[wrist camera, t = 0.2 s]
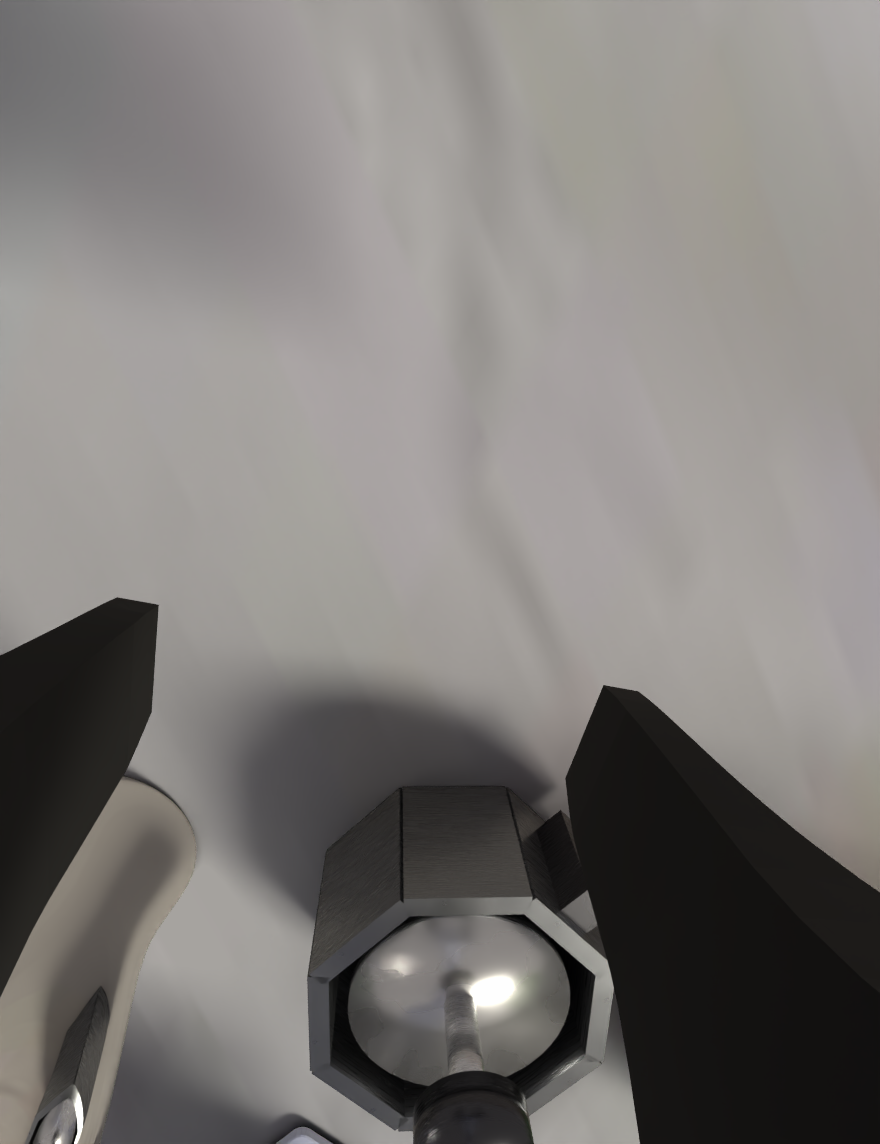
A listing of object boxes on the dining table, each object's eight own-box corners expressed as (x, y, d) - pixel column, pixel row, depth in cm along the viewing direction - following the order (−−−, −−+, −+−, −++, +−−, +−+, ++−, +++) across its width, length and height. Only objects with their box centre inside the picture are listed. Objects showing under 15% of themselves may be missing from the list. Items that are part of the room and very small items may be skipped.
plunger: (452, 1106, 22) (466, 1292, 18) (302, 998, 21) (275, 1172, 16) (611, 990, 21) (667, 1156, 17) (465, 865, 20) (486, 1014, 15)
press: (443, 1022, 27) (452, 1170, 22) (275, 894, 25) (244, 1027, 20) (640, 871, 25) (698, 994, 20) (479, 719, 23) (501, 817, 18)
